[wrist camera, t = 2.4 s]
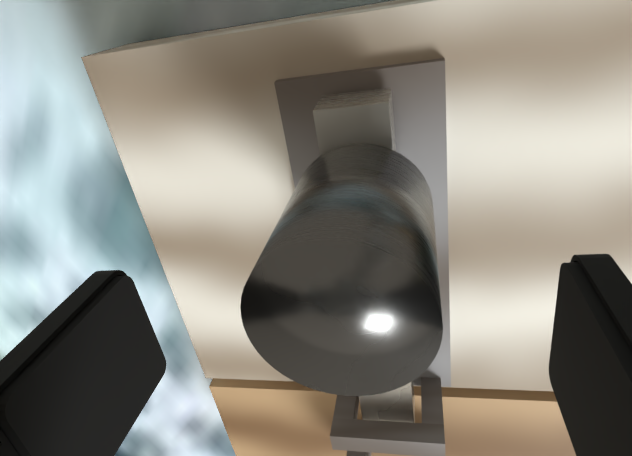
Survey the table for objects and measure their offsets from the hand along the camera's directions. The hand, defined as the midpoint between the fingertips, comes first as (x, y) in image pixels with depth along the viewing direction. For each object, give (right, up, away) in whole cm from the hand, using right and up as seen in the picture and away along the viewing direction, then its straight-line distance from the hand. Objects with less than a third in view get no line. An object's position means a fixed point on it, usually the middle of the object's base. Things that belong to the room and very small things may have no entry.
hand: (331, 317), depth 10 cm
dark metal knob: (+2, 0, +6) cm, 7 cm away
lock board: (+3, 0, +10) cm, 11 cm away
